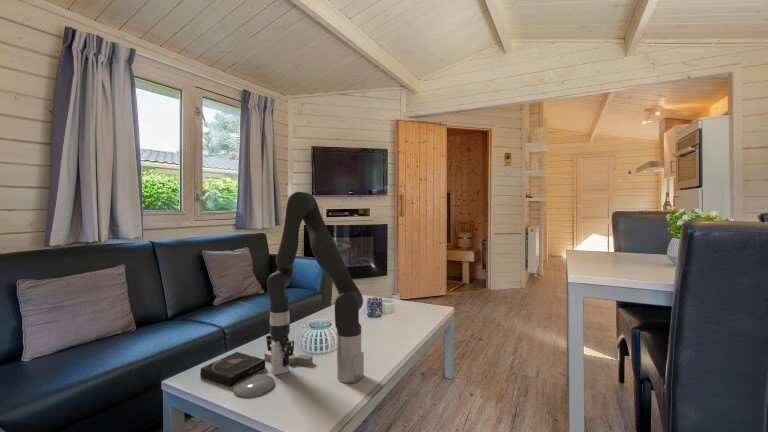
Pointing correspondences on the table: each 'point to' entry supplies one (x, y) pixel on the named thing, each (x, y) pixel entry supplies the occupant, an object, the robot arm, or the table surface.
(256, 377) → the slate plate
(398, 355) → the table surface
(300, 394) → the table surface
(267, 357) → the terracotta brick
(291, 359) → the tan brick
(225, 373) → the portable cd player
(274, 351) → the skincare box
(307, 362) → the gray brick
